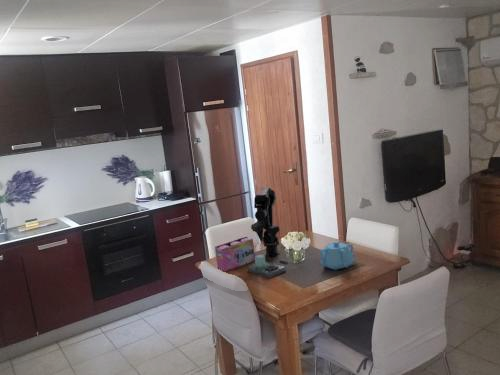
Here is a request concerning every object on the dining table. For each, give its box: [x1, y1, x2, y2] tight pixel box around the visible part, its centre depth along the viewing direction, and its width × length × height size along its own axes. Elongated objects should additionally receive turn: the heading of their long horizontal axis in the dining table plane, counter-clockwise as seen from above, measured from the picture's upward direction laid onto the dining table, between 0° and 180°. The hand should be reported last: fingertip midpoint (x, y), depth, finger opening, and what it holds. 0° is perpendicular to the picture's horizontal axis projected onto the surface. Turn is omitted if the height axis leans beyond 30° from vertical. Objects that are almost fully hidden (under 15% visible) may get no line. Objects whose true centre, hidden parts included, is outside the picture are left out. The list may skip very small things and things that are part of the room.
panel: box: [247, 260, 287, 279], centre depth 242 cm, size 12×18×3 cm, turn 40°
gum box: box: [214, 236, 256, 272], centre depth 259 cm, size 24×8×14 cm, turn 127°
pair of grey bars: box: [272, 259, 289, 266], centre depth 251 cm, size 7×6×1 cm
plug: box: [254, 254, 267, 267], centre depth 245 cm, size 4×4×8 cm
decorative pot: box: [319, 241, 355, 271], centre depth 236 cm, size 16×16×14 cm
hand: (266, 242), depth 253 cm, fingers open, 9 cm apart
